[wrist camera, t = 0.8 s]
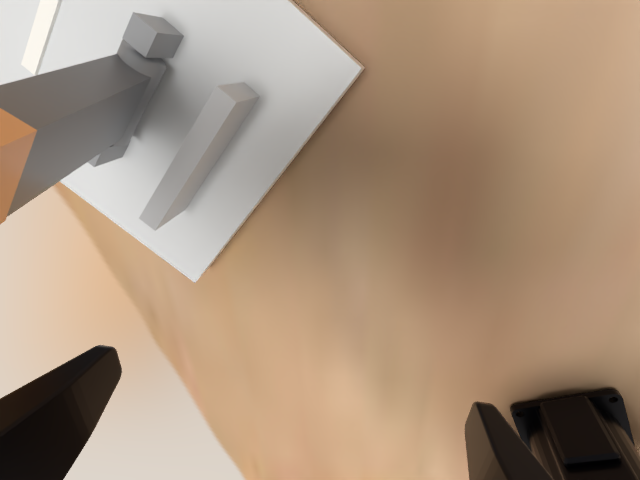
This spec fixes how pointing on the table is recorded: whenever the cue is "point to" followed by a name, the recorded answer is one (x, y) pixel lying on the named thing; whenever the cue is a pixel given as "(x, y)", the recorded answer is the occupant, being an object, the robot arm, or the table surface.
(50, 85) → the lever
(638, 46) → the table surface
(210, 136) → the switch plate
